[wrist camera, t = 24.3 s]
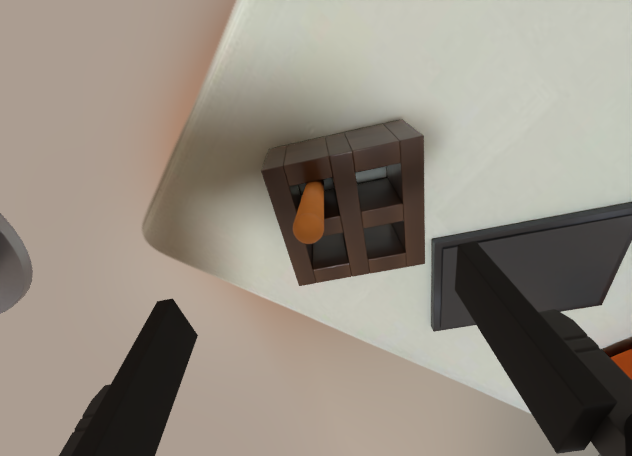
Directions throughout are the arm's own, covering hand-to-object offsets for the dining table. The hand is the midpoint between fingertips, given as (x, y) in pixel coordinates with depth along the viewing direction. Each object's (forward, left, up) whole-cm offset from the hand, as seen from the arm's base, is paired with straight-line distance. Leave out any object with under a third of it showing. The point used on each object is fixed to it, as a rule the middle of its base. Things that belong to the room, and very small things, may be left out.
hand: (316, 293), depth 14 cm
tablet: (+21, -17, -14) cm, 30 cm away
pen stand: (+3, -3, -14) cm, 15 cm away
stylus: (0, -1, -14) cm, 14 cm away
